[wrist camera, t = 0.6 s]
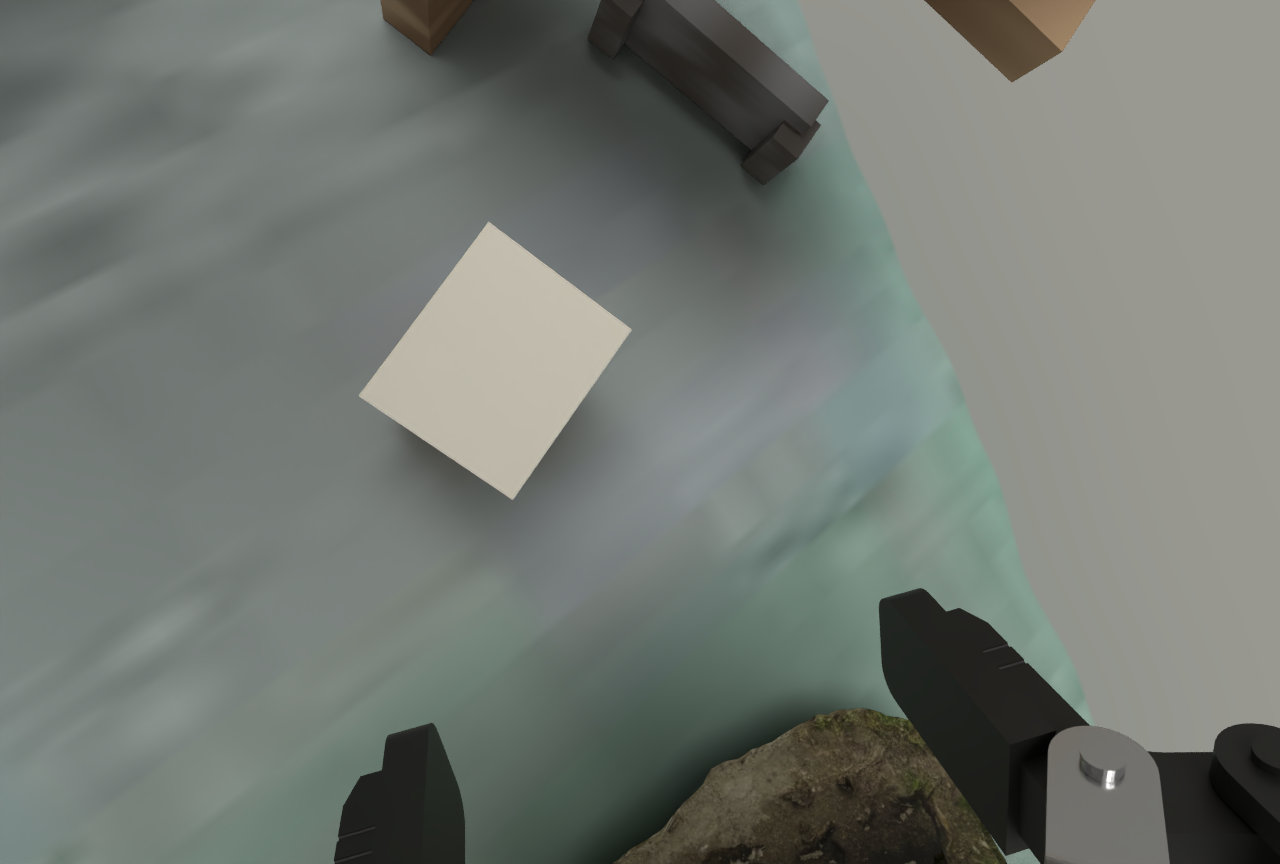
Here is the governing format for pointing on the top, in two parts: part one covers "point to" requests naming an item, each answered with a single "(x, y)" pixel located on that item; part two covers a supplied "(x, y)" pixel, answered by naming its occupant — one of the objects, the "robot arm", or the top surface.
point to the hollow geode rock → (826, 803)
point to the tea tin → (497, 361)
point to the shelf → (765, 57)
